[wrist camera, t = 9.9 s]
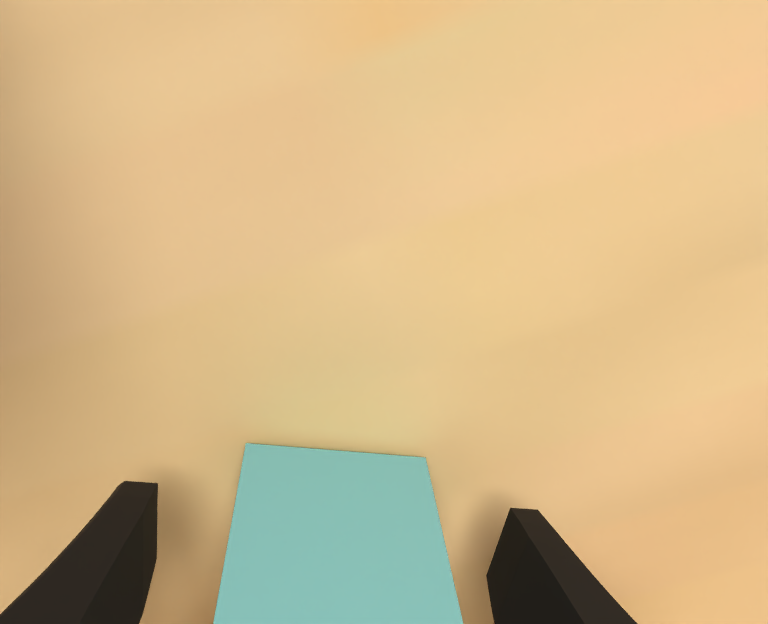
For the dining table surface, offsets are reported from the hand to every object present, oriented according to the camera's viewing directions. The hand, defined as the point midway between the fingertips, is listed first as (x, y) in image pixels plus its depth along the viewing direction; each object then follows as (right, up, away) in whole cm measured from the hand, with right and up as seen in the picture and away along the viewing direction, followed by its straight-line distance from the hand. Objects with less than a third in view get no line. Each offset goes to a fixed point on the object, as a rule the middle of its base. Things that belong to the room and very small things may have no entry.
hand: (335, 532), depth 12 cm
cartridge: (-1, -5, +4) cm, 7 cm away
